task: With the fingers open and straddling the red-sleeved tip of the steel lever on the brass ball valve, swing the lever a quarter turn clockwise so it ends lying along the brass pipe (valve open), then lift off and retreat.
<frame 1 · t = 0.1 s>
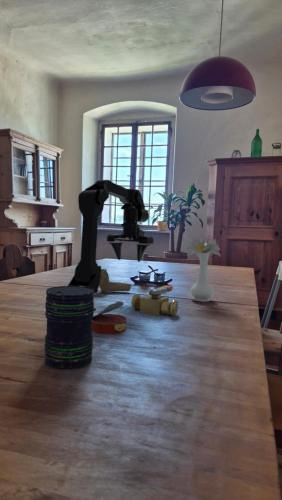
hand: (128, 260, 136), 15 cm above the table, tool pointing down, fingers open, 9 cm apart
canned food: (108, 329, 94), on the table
flower vase: (200, 300, 136), on the table
valve: (154, 312, 114), on the table
storage jar: (68, 361, 71), on the table
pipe: (112, 292, 145), on the table
lever: (160, 290, 117), point 7 cm above the table, hinge at 0.0°
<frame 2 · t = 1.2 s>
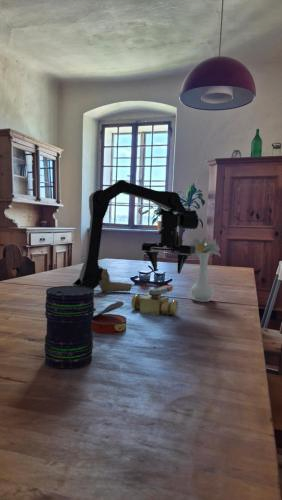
hand: (167, 272, 121), 13 cm above the table, tool pointing down, fingers open, 9 cm apart
nothing on the table moved.
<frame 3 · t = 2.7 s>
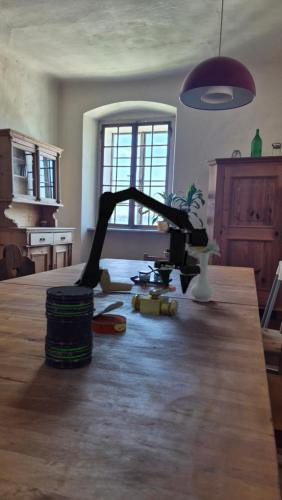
hand: (175, 291, 119), 6 cm above the table, tool pointing down, fingers open, 9 cm apart
lever: (162, 290, 117), point 7 cm above the table, hinge at 7.8°, touching gripper
everything else where it was.
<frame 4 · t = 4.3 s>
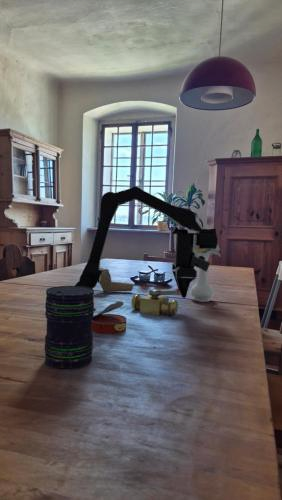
hand: (182, 294, 114), 6 cm above the table, tool pointing down, fingers open, 9 cm apart
lever: (167, 292, 115), point 7 cm above the table, hinge at 43.8°, touching gripper
everything else where it was.
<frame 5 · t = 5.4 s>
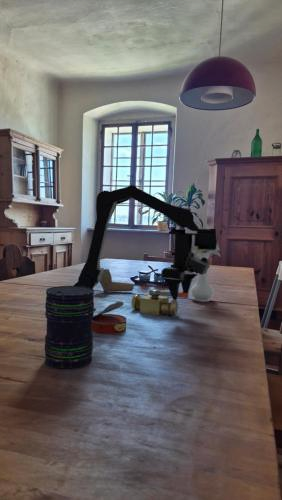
hand: (180, 297, 109), 6 cm above the table, tool pointing down, fingers open, 9 cm apart
lever: (168, 293, 113), point 7 cm above the table, hinge at 71.2°, touching gripper
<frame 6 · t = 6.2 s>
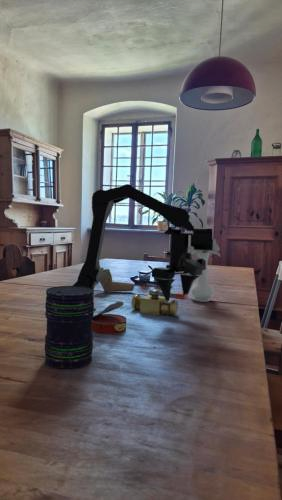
hand: (176, 298, 107), 6 cm above the table, tool pointing down, fingers open, 9 cm apart
lever: (167, 294, 111), point 7 cm above the table, hinge at 87.9°, touching gripper
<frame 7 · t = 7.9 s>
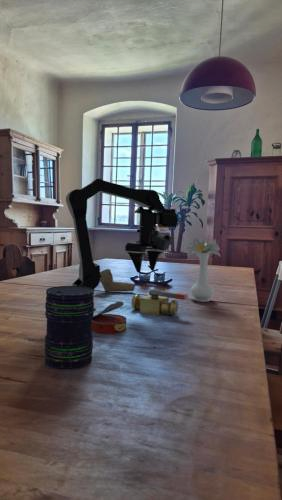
hand: (145, 271, 120), 13 cm above the table, tool pointing down, fingers open, 9 cm apart
lever: (167, 294, 111), point 7 cm above the table, hinge at 88.1°
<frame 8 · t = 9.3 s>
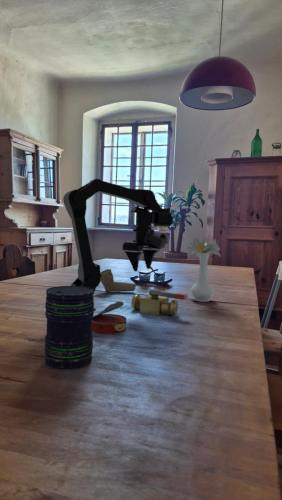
hand: (142, 269, 121), 13 cm above the table, tool pointing down, fingers open, 9 cm apart
at the end: lever at +88° (first picture: +0°); the gripper is holding nothing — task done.
